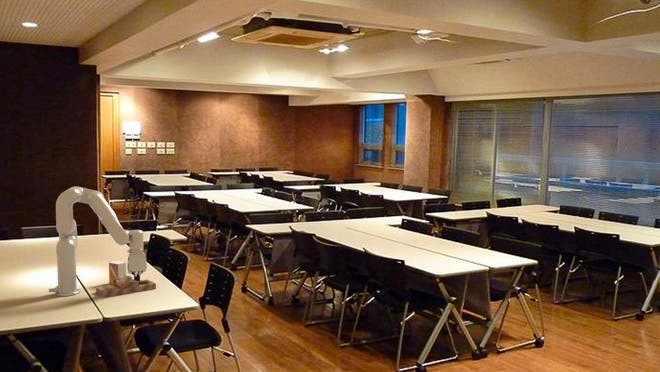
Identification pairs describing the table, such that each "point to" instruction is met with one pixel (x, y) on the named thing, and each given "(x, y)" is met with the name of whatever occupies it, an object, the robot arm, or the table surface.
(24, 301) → the table surface
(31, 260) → the table surface
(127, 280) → the maple cube
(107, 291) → the track
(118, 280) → the sled
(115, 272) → the small box
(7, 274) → the table surface
